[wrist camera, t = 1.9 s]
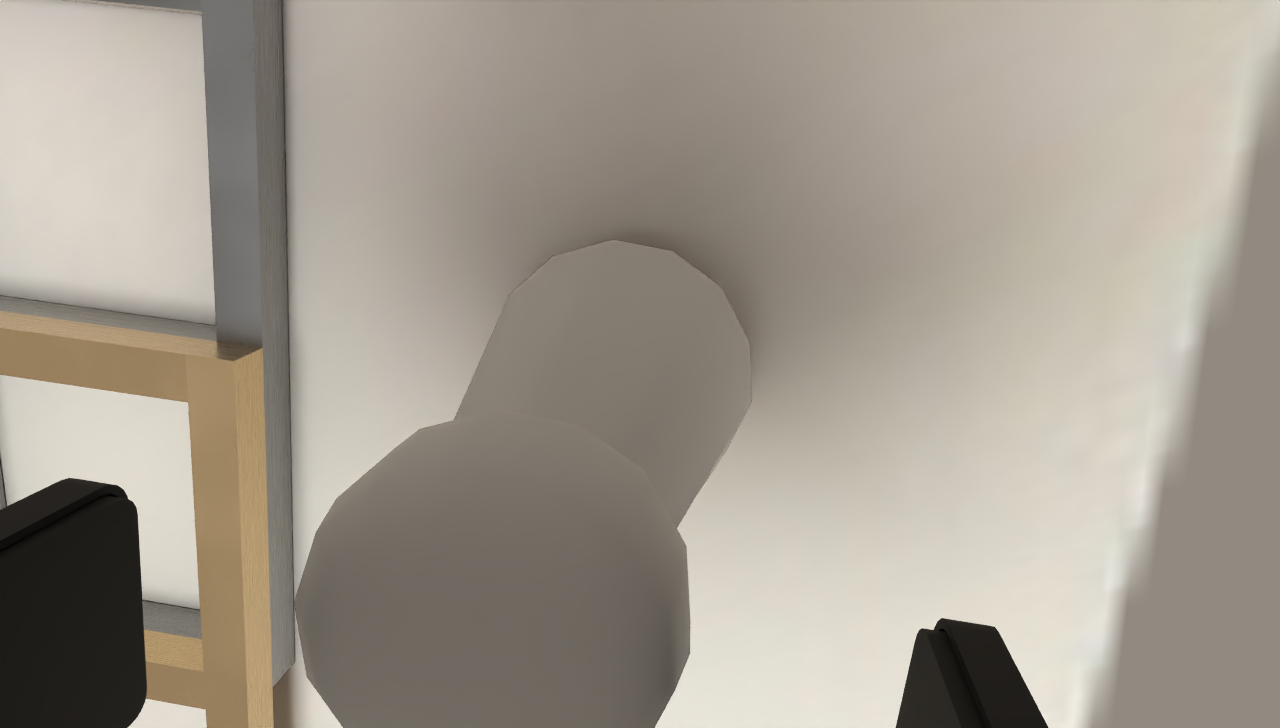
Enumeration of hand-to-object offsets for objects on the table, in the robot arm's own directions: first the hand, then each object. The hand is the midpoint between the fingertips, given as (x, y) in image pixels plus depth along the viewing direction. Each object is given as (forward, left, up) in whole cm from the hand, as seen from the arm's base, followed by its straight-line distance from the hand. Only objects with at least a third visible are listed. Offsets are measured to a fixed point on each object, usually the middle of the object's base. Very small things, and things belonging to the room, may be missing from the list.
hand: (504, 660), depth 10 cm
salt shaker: (-1, 0, -12) cm, 12 cm away
